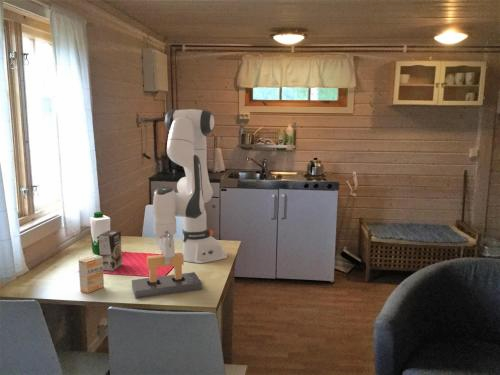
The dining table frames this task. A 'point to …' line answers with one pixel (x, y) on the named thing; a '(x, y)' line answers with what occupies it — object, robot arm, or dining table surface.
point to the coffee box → (110, 249)
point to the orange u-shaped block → (159, 262)
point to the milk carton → (98, 229)
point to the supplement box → (91, 273)
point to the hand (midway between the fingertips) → (165, 262)
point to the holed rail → (166, 285)
